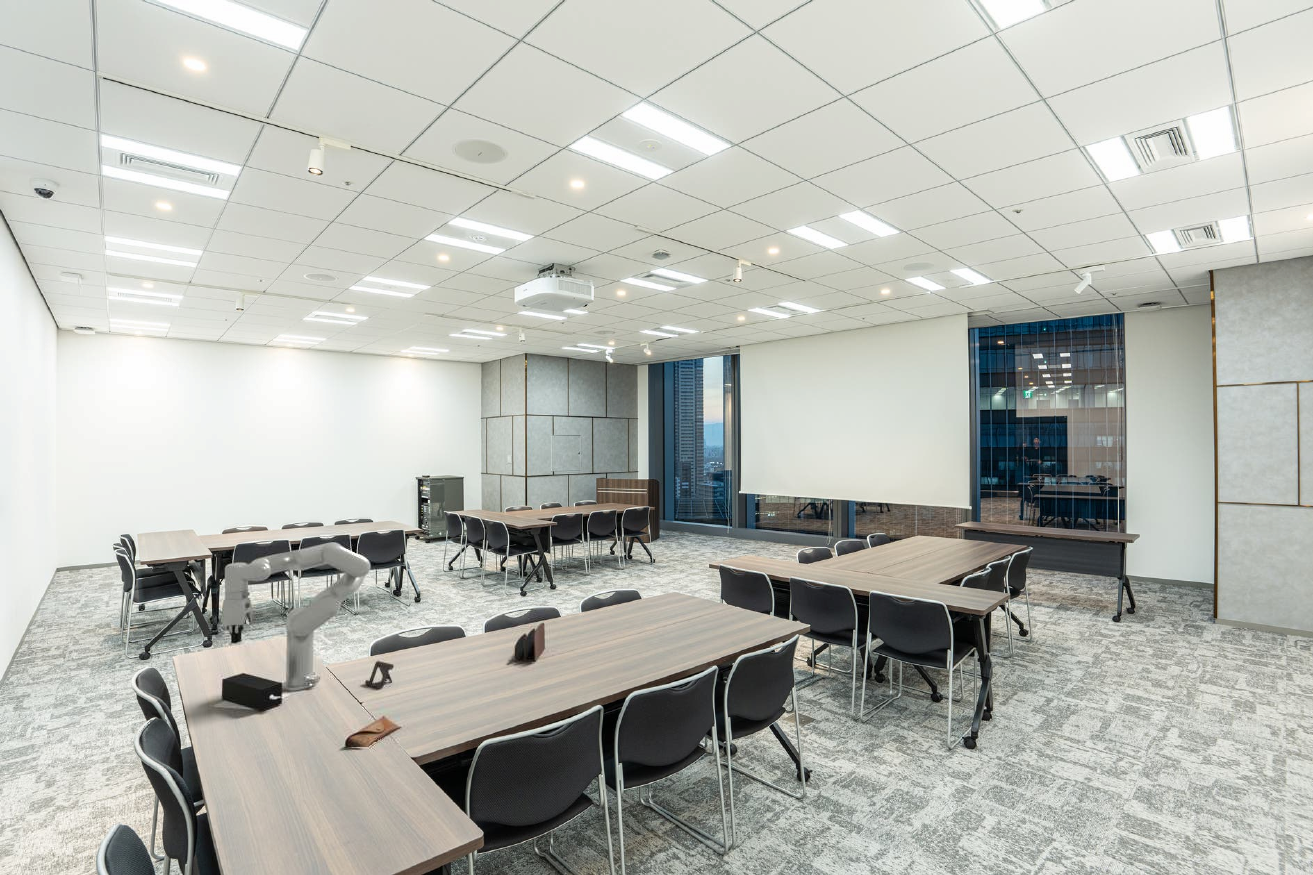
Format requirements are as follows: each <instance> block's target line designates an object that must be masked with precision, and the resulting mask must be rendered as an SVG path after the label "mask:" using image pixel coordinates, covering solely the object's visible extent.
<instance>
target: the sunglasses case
mask: <svg viewBox="0 0 1313 875" xmlns="http://www.w3.org/2000/svg"><path fill="white" fill-rule="evenodd" d="M401 728H402V726H400V725H397V724H396V723H394V722H393V721H391V720H390V719H388V718H387V717H385V715H383V716H382V717H380V718H379V719H378V720H375V721H373V722H372V723H370V724H368V725H366V726H365V727H363V728H361V729H360V730H358V731H356V732H355V733H352V734H350V735H349V736H348V737H347V738H346V739H345V743H344V747H345V748H346V747H369V746H370V745H372V744H373V743H374V742H377V741H378V740H380V739H381V740H383V739H384V737H385V736H386V737H388V736H389V735H391V734H392V733H394V732H395V731H398V730H400V729H401ZM386 737H385V738H386ZM382 738H383V739H382ZM381 740H380V741H381ZM378 742H379V741H378ZM378 742H377V743H378ZM372 746H373V745H372Z"/></svg>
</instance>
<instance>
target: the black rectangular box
mask: <svg viewBox="0 0 1313 875" xmlns="http://www.w3.org/2000/svg"><path fill="white" fill-rule="evenodd" d="M221 680H222V682H221V700H222V701H228V702H232V703H235V704H239V705H242V706H245V707H249V708H252V709H255V710H256V711H259V712H263V711H266V710H268V709H271V708H274V707H277V706H279V705H283V702H282V701H283V700H282V694H283V689H282V684H283V682H280V681H276V680H271V679H268V678H264V677H260V676H257V675H253V674H249V673H245V672H242V673H239V674H235V675H232V676H229V677H225V678H222V679H221ZM252 709H251V710H252Z"/></svg>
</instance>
